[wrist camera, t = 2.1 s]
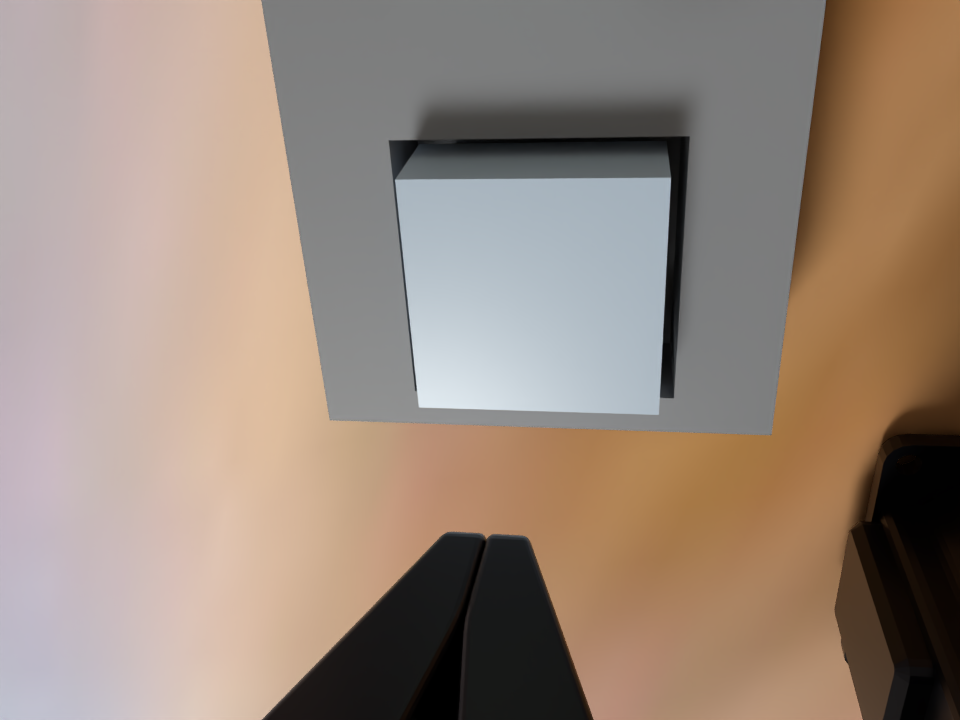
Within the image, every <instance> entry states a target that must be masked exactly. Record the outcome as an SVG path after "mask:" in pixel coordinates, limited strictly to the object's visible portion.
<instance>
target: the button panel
mask: <svg viewBox="0 0 960 720" xmlns="http://www.w3.org/2000/svg"><path fill="white" fill-rule="evenodd" d="M261 1H262V7H263V13H264V19H265V25H266V31H267V38H268V44H269V50H270V56H271V62H272V68H273V74H274V81H275V87H276V93H277V99H278V105H279V111H280V117H281V123H282V130H283V136H284V142H285V148H286V154H287V160H288V166H289V172H290V179H291V185H292V191H293V197H294V203H295V209H296V215H297V222H298V228H299V234H300V240H301V246H302V252H303V258H304V264H305V271H306V277H307V283H308V289H309V295H310V301H311V307H312V314H313V320H314V326H315V332H316V338H317V344H318V350H319V356H320V363H321V369H322V375H323V381H324V387H325V393H326V399H327V406H328V412H329V418H330V420H339V421H368V422H398V423H427V424H457V425H486V426H516V427H545V428H575V429H604V430H634V431H663V432H693V433H722V434H752V435H771V434H772V426H773V418H774V410H775V402H776V394H777V386H778V378H779V370H780V362H781V354H782V346H783V338H784V331H785V323H786V315H787V307H788V299H789V291H790V283H791V275H792V267H793V259H794V251H795V243H796V235H797V227H798V219H799V212H800V204H801V196H802V188H803V180H804V172H805V164H806V156H807V148H808V140H809V132H810V124H811V116H812V108H813V100H814V93H815V85H816V77H817V69H818V61H819V53H820V45H821V37H822V29H823V21H824V13H825V5H826V0H261ZM617 141H667V149H668V157H669V165H670V173H671V188H670V207H669V227H668V246H667V266H666V285H665V305H664V324H663V344H662V363H661V383H660V402H659V415H645V414H613V413H581V412H549V411H517V410H485V409H453V408H421V407H419V404H418V395H417V385H416V375H415V366H414V356H413V347H412V337H411V327H410V318H409V308H408V299H407V289H406V279H405V270H404V260H403V251H402V241H401V231H400V222H399V212H398V203H397V193H396V183H395V179H396V178H397V176H398V175H399V173H400V172H401V170H402V169H403V167H404V166H405V164H406V163H407V161H408V160H409V158H410V157H411V155H412V154H413V153H414V151H415V150H416V148H417V147H418V145H419V144H463V143H540V142H617Z"/></svg>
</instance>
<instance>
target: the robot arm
mask: <svg viewBox="0 0 960 720" xmlns="http://www.w3.org/2000/svg"><path fill="white" fill-rule="evenodd" d="M907 455H914V456H916V457H915V459H914V460H912V461H911V462H909V463H904V464H900V463H897V461H898V459H900V458H902V457H903V456H907ZM835 616H836V619H837V623H838V627H839V631H840V634H841V638H842V639H841V646H842V651H843V654H844V658H845V661H846V662H847V663H848V665H849V668H850V672H851V676H852V680H853V684H854V687H855V691H856V695H857V699H858V702H859V706H860V710H861V714H862V718H863V720H960V436H958V435H927V434H903V435H897V436H895V437H892V438H890V439H888V440H887V441H886V442H885V443H884V444H883V445H882V446H881V448H880V451H879V453H878V458H877V463H876V468H875V473H874V478H873V483H872V488H871V493H870V498H869V503H868V508H867V513H866V518H865V521H860V522H858V523H857V524H856V525H855V526H854V527H853V528H852V529H851V530H850V531H849V535H848V541H847V546H846V551H845V556H844V562H843V567H842V572H841V578H840V583H839V588H838V593H837V599H836V604H835ZM262 720H593V717H592V714H591V711H590V708H589V705H588V703H587V700H586V697H585V694H584V691H583V689H582V686H581V683H580V680H579V677H578V675H577V672H576V669H575V666H574V663H573V660H572V658H571V655H570V652H569V649H568V646H567V644H566V641H565V638H564V635H563V632H562V630H561V627H560V624H559V621H558V618H557V615H556V613H555V610H554V607H553V604H552V601H551V599H550V596H549V593H548V590H547V587H546V584H545V582H544V579H543V576H542V573H541V570H540V568H539V565H538V562H537V559H536V556H535V554H534V551H533V548H532V545H531V542H530V541H529V539H528V538H527V537H525V536H519V535H502V534H492V535H490V536H489V537H488V538H487V539H486V537H485V536H484V535H483V534H480V533H466V532H447V533H445V534H443V535H442V536H441V537H440V538H439V539H438V540H437V541H436V542H435V543H434V544H433V545H432V546H431V547H430V548H429V549H428V550H427V551H426V552H425V553H424V554H423V555H422V556H421V557H420V559H419V560H418V561H417V562H416V563H415V564H414V565H413V566H412V567H411V568H410V569H409V570H408V571H407V572H406V573H405V574H404V575H403V576H402V577H401V578H400V579H399V580H398V581H397V582H396V583H395V584H394V585H393V586H392V587H391V588H390V589H389V590H388V591H387V592H386V593H385V594H384V595H383V596H382V597H381V598H380V599H379V600H378V601H377V602H376V604H375V605H374V606H373V607H372V608H371V609H370V610H369V611H368V612H367V613H366V614H365V615H364V616H363V617H362V618H361V619H360V620H359V621H358V622H357V623H356V624H355V625H354V626H353V627H352V628H351V629H350V630H349V631H348V632H347V633H346V634H345V635H344V636H343V637H342V638H341V639H340V640H339V641H338V642H337V643H336V644H335V645H334V646H333V647H332V649H331V650H330V651H329V652H328V653H327V654H326V655H325V656H324V657H323V658H322V659H321V660H320V661H319V662H318V663H317V664H316V665H315V666H314V667H313V668H312V669H311V670H310V671H309V672H308V673H307V674H306V675H305V676H304V677H303V678H302V679H301V680H300V681H299V682H298V683H297V684H296V685H295V686H294V687H293V688H292V689H291V690H290V691H289V692H288V694H287V695H286V696H285V697H284V698H283V699H282V700H281V701H280V702H279V703H278V704H277V705H276V706H275V707H274V708H273V709H272V710H271V711H270V712H269V713H268V714H267V715H266V716H265V717H264V718H263V719H262Z"/></svg>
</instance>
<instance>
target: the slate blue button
mask: <svg viewBox="0 0 960 720" xmlns="http://www.w3.org/2000/svg"><path fill="white" fill-rule="evenodd" d="M395 183H396V193H397V203H398V212H399V222H400V231H401V241H402V251H403V260H404V270H405V279H406V289H407V299H408V308H409V318H410V327H411V337H412V347H413V356H414V366H415V375H416V385H417V395H418V404H419V407H421V408H453V409H485V410H517V411H549V412H581V413H613V414H645V415H659V402H660V383H661V363H662V344H663V324H664V305H665V285H666V266H667V246H668V227H669V207H670V188H671V173H670V165H669V157H668V149H667V141H617V142H540V143H463V144H419V145H418V147H417V148H416V150H415V151H414V153H413V154H412V155H411V157H410V158H409V160H408V161H407V163H406V164H405V166H404V167H403V169H402V170H401V172H400V173H399V175H398V176H397V178H396V179H395Z"/></svg>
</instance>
